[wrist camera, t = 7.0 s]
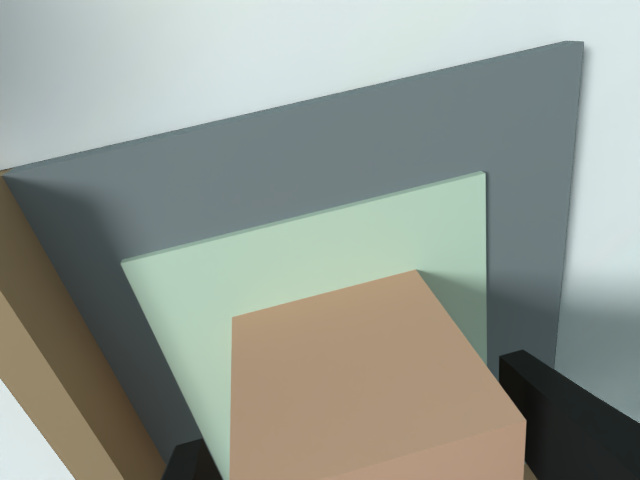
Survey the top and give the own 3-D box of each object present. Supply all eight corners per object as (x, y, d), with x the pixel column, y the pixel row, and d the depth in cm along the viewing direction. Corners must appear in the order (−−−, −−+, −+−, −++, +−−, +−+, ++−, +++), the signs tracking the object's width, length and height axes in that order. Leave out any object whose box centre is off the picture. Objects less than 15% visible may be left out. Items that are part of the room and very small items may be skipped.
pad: (484, 414, 15) (487, 419, 15) (230, 487, 14) (230, 493, 14) (481, 170, 11) (485, 173, 11) (122, 259, 10) (120, 263, 10)
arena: (535, 460, 18) (577, 522, 16) (199, 559, 17) (194, 640, 15) (566, 40, 10) (656, 45, 8) (-32, 177, 9) (-114, 224, 7)
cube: (415, 269, 12) (530, 425, 7) (428, 399, 14) (520, 578, 9) (231, 316, 11) (228, 513, 7) (276, 441, 14) (297, 649, 9)
